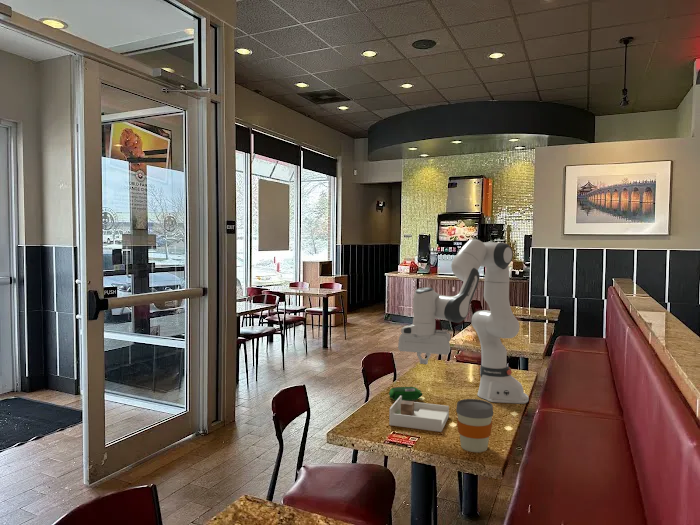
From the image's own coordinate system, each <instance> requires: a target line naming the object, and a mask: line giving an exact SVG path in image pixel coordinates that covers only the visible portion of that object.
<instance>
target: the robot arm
mask: <svg viewBox="0 0 700 525" xmlns="http://www.w3.org/2000/svg"><path fill="white" fill-rule="evenodd" d="M513 256H514V254H513V248H511V246H510V245H509V244H508V243H505V242H495V241H494V242H493V241H486V242H485V241H484V242H483V241H481V240H480V239H476V238H472V239H469V240H468V241H467V242H466V243H464V244H463V245H462V247H461V248H460V249H459V250H458V252H457V253H456V255H455V256H454V258H453V259H452V262H451V266H450V267H451V271H452V273H453V275H454V276H455V277H456V279H458V280H460V281H462V282H463V283H462V285H461V287H460V290H459V291H458V294H456V295H453V296H451V295H444V294H439V293H438V292H436V291H435V289H434V288H433V287H430V286H429V287H420V288H417V289H416V290H415V291H414V294H413V297H412V298H413V299H412V300H413V301H412V313H413V319H412V323H411V324H408V325H405V326H403V327H402V328H401V329H400V333H401V334H400V335H399V337H398V341H397V342H398V345H397V349H398V351H399V352H406V353H408V352H409V353H416V356H417V358H418V360H419V364H420V365H428V362H429V358H430V357H431V355H432V354H436V355H443V356H446V355H448V354H449V353H450V352H451V347H450V346H451V345H450V341H451V336H452V335H451V333H450V332H449V331H447V330H445V329H444V330H443V329H436V319H438V320H443V321H444V320H445V321H448V322H453V323H457V324H458V323H461V322H463V321H464V320H465V319H466V318H467V317H468V315H469V311H470V306H471V302H472V300H473V297H474V296H475V292H476V291H477V288H478V285H479V283H480V282H479V281H480V272H479V269H480V267H483V268H485V272H484V282H483V284H484V286H483V300H484V301H485V302H486V303H487V306H488V309H489V310H487V309H485V310H477V311H475V312H474V313H473V315H472V316H471V320H470V321H471V322H470V323H471V326H472V328H473V329H474V331H475V332H476V334H477V337H478V340H479V343H480V348H481V350H480V351H481V364H480V367H479V376H480V381H479V388H478V391H477V394H476V395H477V396H478V397H479V398H481V399H482V400H483V399H484V400H485V401H487V402H489V403H491V402H492V403H502V404H503V403H504V404H505V403H506V404H521V405H522V404H527V403H528V402H529V398H530V397H529V396H528V394H527V393H526V392H524V387H523V385H522V383H521V382H520V381H519V380H517V379H516V378H515V377H513V375H512V369H511V367H510V366H507V358H508V357H507V355H508V351H507V349H506V346H505V345H504V344H503V342H502V339H513V338H515V337H517V335H518V334H519V331H520V322H519V320H518V319H517V318H516V317H515V315H514V313H513V311H512V308H511V304H510V267H509V265H510V264H511V262H512V261H513ZM422 354H425V355H426V358H423V356H422Z"/></svg>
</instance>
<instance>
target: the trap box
mask: <svg viewBox="0 0 700 525" xmlns="http://www.w3.org/2000/svg"><path fill="white" fill-rule="evenodd" d="M401 403H402V396H400V397H399V398H398V399H397V400H396V401H395V400H394V403H393V404H391V406H390V407H389V411H388V412H389V415H388V416H389V418H388V421H389V423H388V424H389V426H393V427H394V426H395V427H400V428H401V427H402V428H411V429H417V430H424V431H432V432H438V433H439V432H440V433H442V432H443V429H444V428H445V425H446V423H447V421H448V420H449V417H450V416H449V415H450V406H449V405H444V404H435V403H426V402H418V401H414V414H413V415H412V416H409V415H401Z"/></svg>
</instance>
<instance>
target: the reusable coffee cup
mask: <svg viewBox="0 0 700 525" xmlns="http://www.w3.org/2000/svg"><path fill="white" fill-rule="evenodd" d="M455 410H456V413H457V418H456V424H457V432H458V434H459V439H460V440H459V442H460V447H461V448H462V449H463V450H465V451H467V452H470V453H483V452H486V451H487V450H488V446H489V440H490V436H491V434H492V429H493V428H492V427H493V420H492V419H493V416H494V406H493V404H492V403H491V402H490V401H488V400H483V399H477V398H463V399H460V400H458V401H457V402H456V409H455Z"/></svg>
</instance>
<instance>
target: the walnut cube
mask: <svg viewBox="0 0 700 525" xmlns="http://www.w3.org/2000/svg"><path fill="white" fill-rule="evenodd" d="M414 402H415V400H410V401H405V400H403V401H402V403H401V415H409V416H412V415H413V414H414Z"/></svg>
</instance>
